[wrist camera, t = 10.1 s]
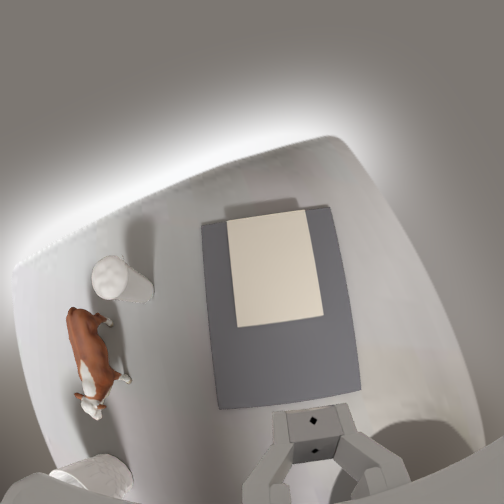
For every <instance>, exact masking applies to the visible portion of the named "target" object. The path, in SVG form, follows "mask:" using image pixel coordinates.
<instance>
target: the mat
mask: <svg viewBox="0 0 504 504" xmlns="http://www.w3.org/2000/svg"><path fill="white" fill-rule="evenodd" d="M305 213H306V218H307V223H308V228H309V233H310V238H311V243H312V249H313V254H314V260H315V265H316V271H317V277H318V282H319V288H320V295H321V301H322V307H323V314H324V315H323V316H321V317H315V318H308V319H302V320H295V321H288V322H281V323H274V324H267V325H259V326H251V327H242V328H239V327H237V318H236V309H235V299H234V290H233V280H232V271H231V261H230V251H229V240H228V230H227V222H221V223H215V224H209V225H203V226H201V230H202V246H203V261H204V274H205V287H206V299H207V310H208V320H209V330H210V340H211V349H212V358H213V367H214V375H215V383H216V391H217V399H218V406H219V409H236V408H250V407H261V406H270V405H279V404H287V403H294V402H301V401H308V400H314V399H320V398H325V397H331V396H336V395H341V394H345V393H350V392H355V391H359V390H361V382H360V372H359V363H358V355H357V347H356V340H355V333H354V326H353V320H352V313H351V307H350V301H349V295H348V290H347V284H346V279H345V273H344V268H343V263H342V258H341V253H340V249H339V244H338V239H337V235H336V230H335V226H334V222H333V217H332V213H331V209H330V207H328V208H320V209H312V210H305Z"/></svg>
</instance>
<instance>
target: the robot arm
mask: <svg viewBox="0 0 504 504" xmlns="http://www.w3.org/2000/svg"><path fill="white" fill-rule="evenodd" d="M272 433H273V445H271V446H270V448H269V449H268V450H267V452H266V453H265V455H264V456H263V458H262V459H261V460H260V462H259V463H258V465H257V466H256V467H255V469H254V470H253V471H252V473H251V474H250V475H249V477H248V478H247V479H246V481H245V482H244V483H243V485H242V504H291V497H290V489H289V485H287V484H285V483H283V484H282V482H283V481H284V479H285V477H286V476H287V474H288V472H289V470H290V468H291V467H292V464H299V463H306V462H312V461H320V460H327V459H333V460H334V461H335V462H336V463H338V464H339V465H340V466H341V467H342V468H343V469H344V470H345V471H346V472H347V473H348V474H350V475H351V476H352V477H353V478H354V479H355V480H357V482H358V484H357V486H356V487H355V489H354V491H353V492H352V494H351V498H352V500H350V501H346V502H341V503H337V504H504V436H502V437H501V438H499V439H497V440H496V441H494V442H493V443H491V444H489V445H488V446H486V447H484V448H483V449H481V450H479V451H477V452H476V453H474V454H472V455H470V456H468V457H466V458H464V459H463V460H461V461H459V462H457V463H455V464H453V465H450V466H449V467H446V468H444V469H442V470H440V471H438V472H436V473H433V474H431V475H429V476H426V477H424V478H421V479H418V480H416V481H413V482H411V480H410V478H409V475H408V473H407V470H406V468H405V466H404V463H403V460H402V458H400V457H398V456H397V455H395V454H394V453H392V452H391V451H389V450H388V449H386V448H384V447H383V446H381V445H380V444H378V443H377V442H375V441H374V440H372V439H371V438H370V437H368V436H367V435H365V434H364V433H362V432H357V429H356V426H355V424H354V421H353V418H352V415H351V412H350V410H349V407H348V404H347V403H342V404H336V405H328V406H322V407H316V408H310V409H302V410H290V411H277V412H272ZM1 504H140V503H135V502H130V501H126V500H122V499H118V498H114V497H110V496H106V495H103V494H99V493H96V492H93V491H90V490H86V489H83V488H80V487H78V486H75V485H72V484H69V483H66V482H64V481H61V480H59V479H56V478H54V477H52V476H49V475H47V474H44V473H40V472H38V473H34V474H32V475H30V476H27V477H25V478H23V479H21V480H19V481H17V482H15V483H14V484H13V485H12V486H11V487H10V488H9V489H8V491H7V492H6V494H5V496H4V498H3V500H2V502H1Z"/></svg>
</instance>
